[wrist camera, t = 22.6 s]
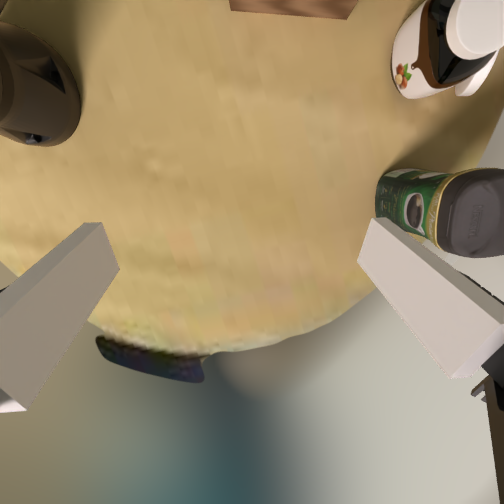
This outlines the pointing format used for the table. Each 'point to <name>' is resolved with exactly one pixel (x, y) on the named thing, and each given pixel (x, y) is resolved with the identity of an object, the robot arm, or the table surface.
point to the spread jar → (447, 47)
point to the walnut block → (297, 7)
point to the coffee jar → (447, 208)
